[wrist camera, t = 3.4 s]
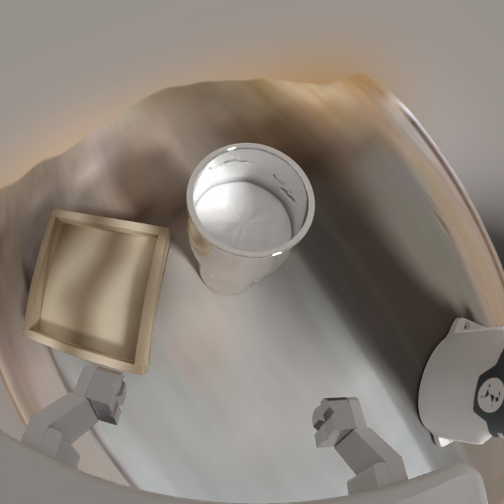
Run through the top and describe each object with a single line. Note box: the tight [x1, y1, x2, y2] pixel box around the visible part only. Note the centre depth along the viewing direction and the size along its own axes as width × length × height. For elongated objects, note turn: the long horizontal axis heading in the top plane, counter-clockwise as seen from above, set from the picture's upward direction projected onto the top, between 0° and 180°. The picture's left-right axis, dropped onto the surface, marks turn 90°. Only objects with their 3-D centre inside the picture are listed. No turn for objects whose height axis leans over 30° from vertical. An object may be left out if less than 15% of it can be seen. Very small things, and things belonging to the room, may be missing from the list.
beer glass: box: [186, 143, 315, 295], centre depth 21 cm, size 7×7×15 cm
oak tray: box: [23, 209, 172, 375], centre depth 24 cm, size 14×14×3 cm
